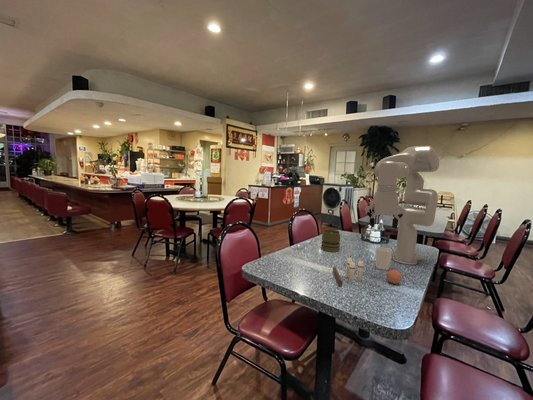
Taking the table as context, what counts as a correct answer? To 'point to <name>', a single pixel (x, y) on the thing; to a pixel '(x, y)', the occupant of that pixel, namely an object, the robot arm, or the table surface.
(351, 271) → the back pin left
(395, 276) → the ball
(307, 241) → the table surface
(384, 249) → the white cup
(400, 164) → the robot arm
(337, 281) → the walnut rail
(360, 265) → the front pin
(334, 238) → the piston
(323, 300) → the table surface
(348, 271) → the back pin right
